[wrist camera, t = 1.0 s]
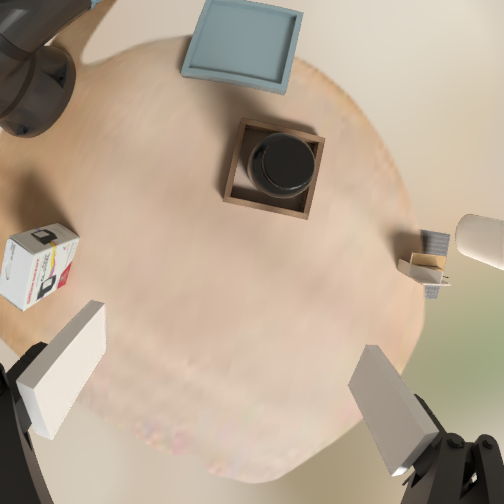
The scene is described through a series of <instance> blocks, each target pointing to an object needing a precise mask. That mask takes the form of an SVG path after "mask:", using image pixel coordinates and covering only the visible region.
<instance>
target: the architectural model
mask: <svg viewBox="0 0 504 504" xmlns="http://www.w3.org/2000/svg"><path fill="white" fill-rule="evenodd" d="M446 257H447V256H446V255H438V254H429V253H422V254H420V253H412V255H411V261H410V260H408V262H406V261H404V260H402V259H400V258H399V261H398V266H397V269H398V271H400V272H401V273H403V274H405V275H406V276H408V277H410V278H412V279H413V280H415V281H417V282H418V283H420V284H422V285H424V286H438V287H440V286H450V284H449V283H447V282H445V281H443V280H442V276H443V272H444V267H445V262H446ZM443 277H444V276H443Z"/></svg>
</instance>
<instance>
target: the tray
mask: <svg viewBox="0 0 504 504" xmlns="http://www.w3.org/2000/svg"><path fill="white" fill-rule="evenodd" d="M302 17H303V13H302V12H298V11H295V10H291V9H286V8H282V7H278V6H272V5H268V4H263V3H257V2H252V1H246V0H206V2H205V5H204V7H203V9H202V12H201V15H200V17H199V20H198V23H197V25H196V28H195V31H194V34H193V36H192V39H191V42H190V45H189V48H188V51H187V54H186V57H185V60H184V64H183V67H182V70H181V74H182V76H183V77H186V78H195V79H202V80H209V81H216V82H222V83H228V84H233V85H239V86H244V87H249V88H254V89H259V90H263V91H268V92H272V93H277V94H281V95H284V94H285V93H286V90H287V85H288V81H289V76H290V72H291V67H292V63H293V58H294V54H295V49H296V44H297V40H298V35H299V31H300V27H301V22H302Z"/></svg>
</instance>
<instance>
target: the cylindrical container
mask: <svg viewBox="0 0 504 504" xmlns="http://www.w3.org/2000/svg"><path fill="white" fill-rule="evenodd" d="M455 241H456V246H457V248H458V250H459V252H460V253H462V254H463V255H466V256H468V257H471V258H474V259H476V260H479V261H481V262H484V263H486V264H489V265H492V266H494V267H497V268H499V269H502V270H504V221H502V220H497V219H492V218H488V217H482V216H478V215H472V214H467V215H465V216H464V217H463V218H462V219H461V220H460V222H459V223H458V226H457V229H456V234H455Z"/></svg>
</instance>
